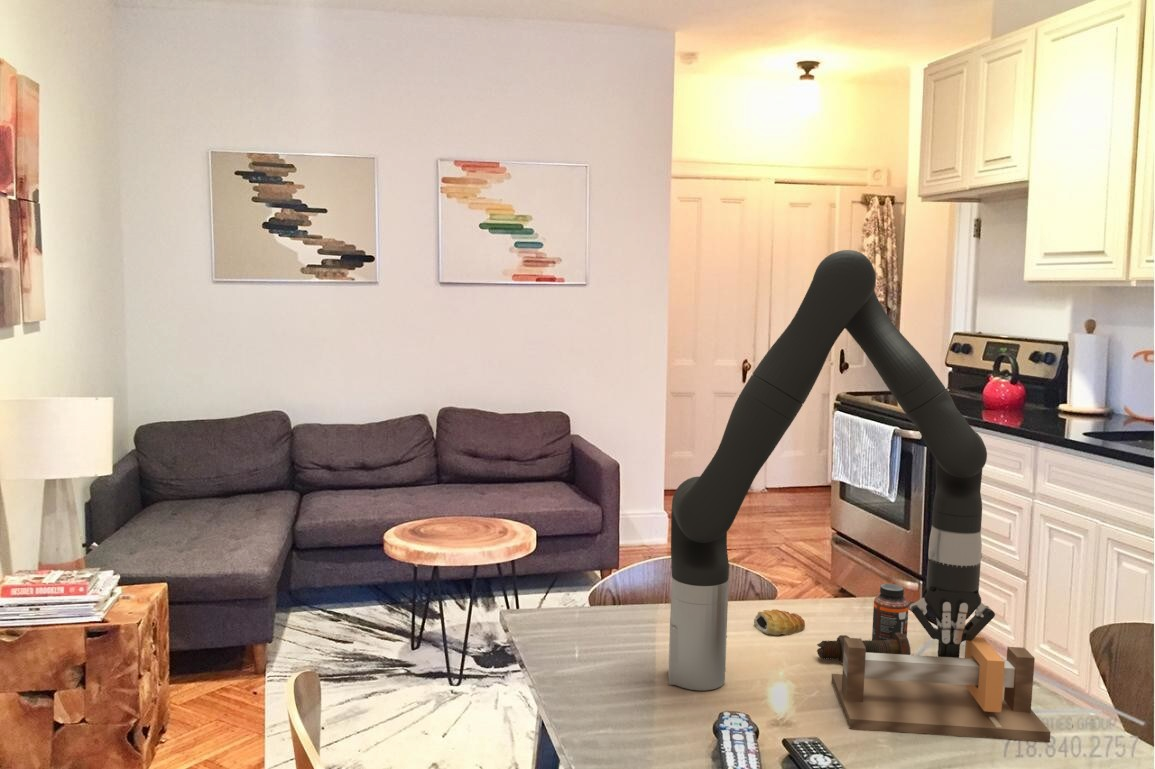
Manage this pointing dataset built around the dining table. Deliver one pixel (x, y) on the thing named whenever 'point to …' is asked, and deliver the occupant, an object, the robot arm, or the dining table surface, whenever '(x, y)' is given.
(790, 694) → the dining table surface
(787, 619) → the pastry
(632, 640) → the dining table surface
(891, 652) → the bolt
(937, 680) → the pipe stand
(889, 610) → the supplement bottle
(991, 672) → the collar
